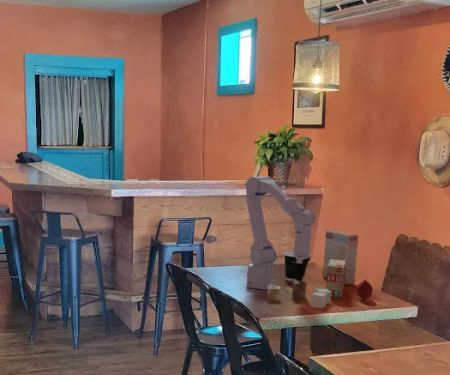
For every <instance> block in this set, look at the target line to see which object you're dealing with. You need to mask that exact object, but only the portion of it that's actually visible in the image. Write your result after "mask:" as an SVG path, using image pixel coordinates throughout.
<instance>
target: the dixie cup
mask: <svg viewBox="0 0 450 375" xmlns="http://www.w3.org/2000/svg"><path fill="white" fill-rule="evenodd" d="M293 254H294V251H286V252H284V253H283V255H284V271H285V272H284V274H285V280H286V281H289V282H294V281H296V277H295V270H294V267H293V264H292V262H293V261H296V259H295V257H294V256H293Z"/></svg>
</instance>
